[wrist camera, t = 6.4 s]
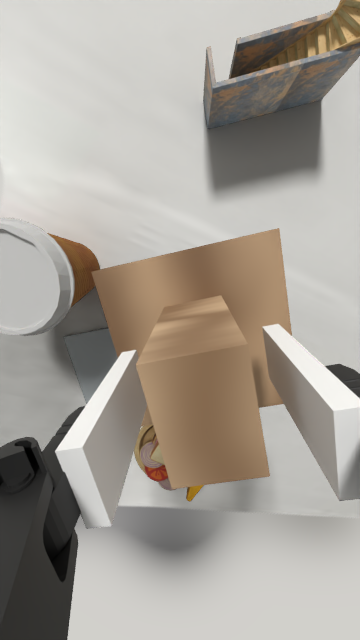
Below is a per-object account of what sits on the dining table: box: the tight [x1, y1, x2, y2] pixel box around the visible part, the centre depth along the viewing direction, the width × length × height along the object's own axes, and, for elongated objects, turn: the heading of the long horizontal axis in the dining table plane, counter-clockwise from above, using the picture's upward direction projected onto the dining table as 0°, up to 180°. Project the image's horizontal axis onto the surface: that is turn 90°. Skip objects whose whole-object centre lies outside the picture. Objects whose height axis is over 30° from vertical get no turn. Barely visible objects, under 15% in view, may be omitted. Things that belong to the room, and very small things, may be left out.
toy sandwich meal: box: [134, 425, 203, 501], centre depth 36 cm, size 12×14×5 cm
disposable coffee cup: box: [0, 218, 100, 336], centre depth 26 cm, size 10×10×12 cm
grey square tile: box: [63, 328, 118, 404], centre depth 35 cm, size 12×12×1 cm
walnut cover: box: [91, 228, 292, 489], centre depth 13 cm, size 11×11×9 cm
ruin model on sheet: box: [203, 0, 360, 129], centre depth 22 cm, size 11×3×10 cm, turn 102°
